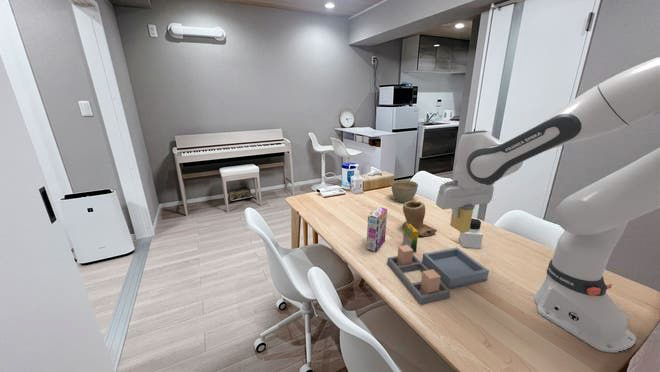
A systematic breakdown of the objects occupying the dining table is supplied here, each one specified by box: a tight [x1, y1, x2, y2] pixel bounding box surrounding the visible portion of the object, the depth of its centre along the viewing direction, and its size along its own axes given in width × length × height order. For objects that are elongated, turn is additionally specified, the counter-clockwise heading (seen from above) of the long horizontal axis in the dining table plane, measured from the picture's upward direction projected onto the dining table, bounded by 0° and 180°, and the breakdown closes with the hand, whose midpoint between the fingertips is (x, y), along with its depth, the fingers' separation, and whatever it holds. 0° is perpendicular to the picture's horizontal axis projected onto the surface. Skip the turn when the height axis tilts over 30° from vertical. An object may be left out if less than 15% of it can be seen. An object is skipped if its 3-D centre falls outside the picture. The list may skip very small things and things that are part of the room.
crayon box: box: [402, 220, 419, 253], centre depth 114 cm, size 7×3×12 cm, turn 12°
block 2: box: [419, 269, 441, 295], centre depth 88 cm, size 4×4×8 cm
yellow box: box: [450, 204, 474, 233], centre depth 93 cm, size 6×3×10 cm, turn 15°
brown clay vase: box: [401, 200, 438, 237], centre depth 127 cm, size 15×12×15 cm
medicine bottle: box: [458, 217, 484, 250], centre depth 116 cm, size 7×7×12 cm
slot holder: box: [386, 254, 452, 305], centre depth 96 cm, size 23×11×2 cm, turn 15°
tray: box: [421, 247, 490, 290], centre depth 100 cm, size 16×16×4 cm
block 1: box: [396, 245, 414, 266], centre depth 102 cm, size 4×4×8 cm
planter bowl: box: [390, 179, 419, 204], centre depth 166 cm, size 16×16×11 cm
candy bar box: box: [366, 206, 388, 253], centre depth 116 cm, size 11×5×16 cm, turn 149°
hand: (461, 216), depth 93 cm, fingers closed on yellow box, 3 cm apart
